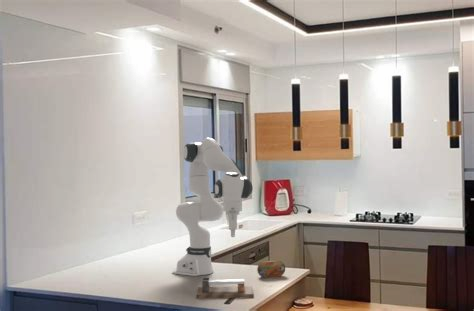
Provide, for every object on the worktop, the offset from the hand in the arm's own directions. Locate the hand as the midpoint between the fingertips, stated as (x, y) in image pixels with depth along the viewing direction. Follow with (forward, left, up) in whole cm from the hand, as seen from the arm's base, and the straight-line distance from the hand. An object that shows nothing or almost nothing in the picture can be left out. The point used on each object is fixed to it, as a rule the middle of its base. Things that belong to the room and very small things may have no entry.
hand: (232, 236), depth 251 cm
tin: (+9, +37, -27) cm, 47 cm away
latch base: (-4, -1, -27) cm, 27 cm away
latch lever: (-4, -1, -22) cm, 22 cm away
